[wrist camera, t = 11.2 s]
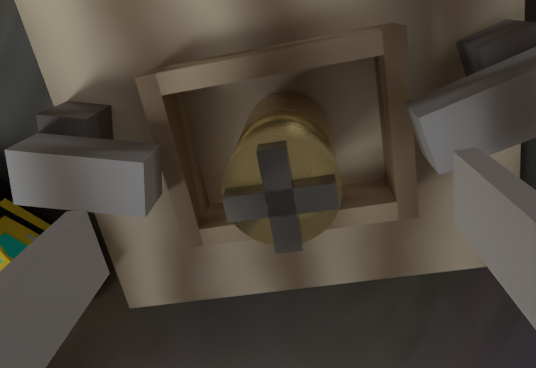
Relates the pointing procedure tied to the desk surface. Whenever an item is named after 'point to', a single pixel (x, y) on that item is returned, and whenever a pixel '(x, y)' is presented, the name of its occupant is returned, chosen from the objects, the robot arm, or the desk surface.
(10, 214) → the toy car
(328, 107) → the shaft rig
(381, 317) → the desk surface
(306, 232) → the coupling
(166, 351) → the desk surface
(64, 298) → the robot arm
